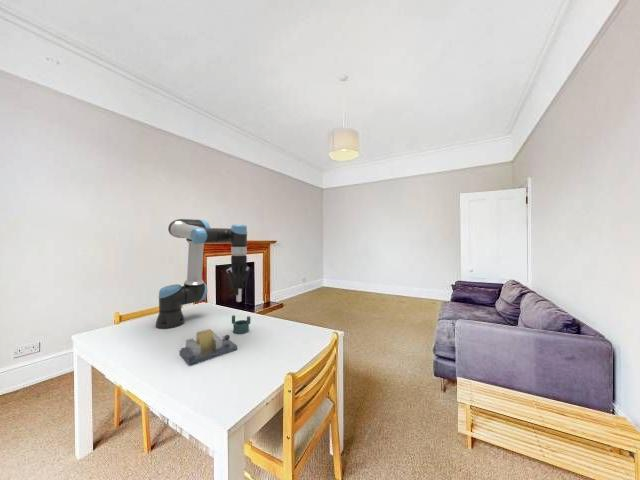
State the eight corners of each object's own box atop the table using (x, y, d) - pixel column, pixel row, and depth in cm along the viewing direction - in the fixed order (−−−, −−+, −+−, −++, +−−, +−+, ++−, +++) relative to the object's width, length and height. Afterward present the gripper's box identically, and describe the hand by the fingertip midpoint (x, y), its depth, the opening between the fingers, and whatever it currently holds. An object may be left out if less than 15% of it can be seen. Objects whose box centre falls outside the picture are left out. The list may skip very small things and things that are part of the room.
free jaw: (207, 343, 120) (207, 334, 120) (225, 338, 126) (225, 329, 126) (215, 350, 113) (215, 340, 113) (234, 344, 119) (234, 335, 119)
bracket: (251, 332, 139) (251, 316, 139) (234, 335, 135) (234, 319, 135) (247, 327, 147) (247, 312, 147) (231, 330, 142) (231, 314, 142)
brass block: (196, 349, 114) (196, 332, 113) (209, 345, 118) (209, 329, 118) (199, 352, 111) (199, 335, 111) (213, 348, 115) (213, 331, 115)
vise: (179, 354, 113) (179, 340, 113) (224, 340, 128) (224, 328, 128) (189, 366, 103) (189, 350, 103) (237, 349, 118) (237, 336, 118)
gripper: (229, 256, 118) (229, 305, 119) (254, 254, 127) (254, 300, 128) (223, 255, 123) (223, 302, 124) (247, 253, 133) (246, 297, 133)
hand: (238, 301), depth 126 cm, fingers closed
